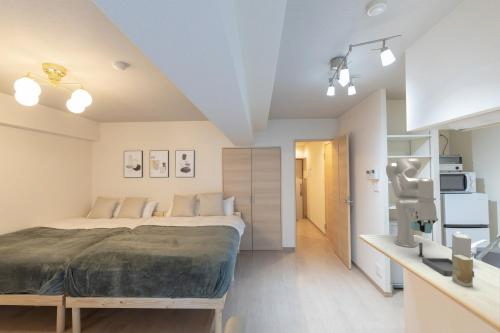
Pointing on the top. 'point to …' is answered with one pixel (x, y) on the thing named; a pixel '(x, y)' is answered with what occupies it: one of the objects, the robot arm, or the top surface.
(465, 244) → the skincare box
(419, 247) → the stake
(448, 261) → the tray
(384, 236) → the top surface
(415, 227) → the teal magnifying glass
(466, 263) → the skincare box
